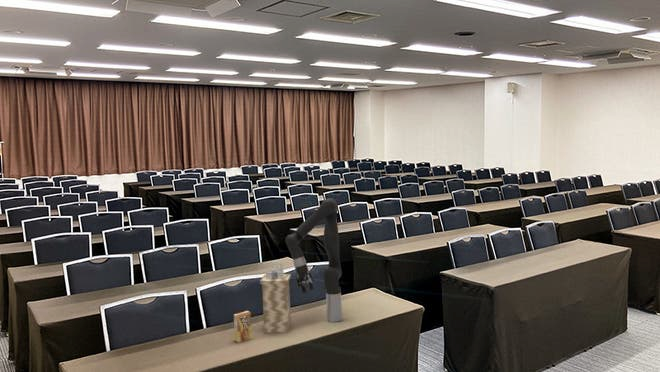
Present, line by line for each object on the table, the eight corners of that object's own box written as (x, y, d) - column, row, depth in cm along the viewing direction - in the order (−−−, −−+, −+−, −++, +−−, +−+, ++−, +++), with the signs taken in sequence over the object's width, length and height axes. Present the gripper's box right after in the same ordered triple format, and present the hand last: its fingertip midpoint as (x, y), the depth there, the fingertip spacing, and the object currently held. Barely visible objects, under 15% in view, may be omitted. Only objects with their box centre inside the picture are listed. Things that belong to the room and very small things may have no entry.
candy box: (248, 336, 290) (247, 310, 288) (252, 338, 286) (250, 312, 285) (234, 340, 284) (233, 314, 283) (238, 342, 281) (237, 316, 280)
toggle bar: (272, 270, 314) (271, 264, 314) (287, 270, 314) (287, 264, 313) (266, 279, 294) (265, 272, 294) (283, 279, 294) (282, 272, 293)
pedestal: (293, 324, 307) (290, 274, 304) (289, 332, 293) (287, 280, 291) (267, 324, 308) (264, 274, 306) (262, 333, 294) (259, 280, 292)
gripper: (299, 265, 302) (307, 292, 300) (311, 262, 314) (319, 287, 312) (289, 269, 305) (297, 295, 303) (301, 265, 318) (309, 290, 316)
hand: (308, 291), depth 308 cm, fingers open, 8 cm apart
